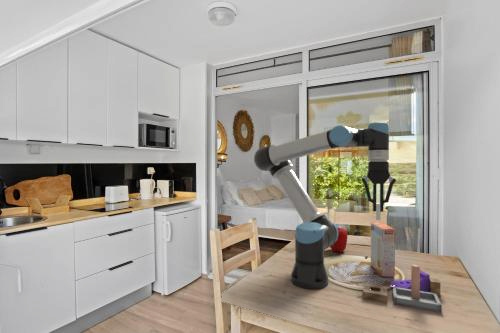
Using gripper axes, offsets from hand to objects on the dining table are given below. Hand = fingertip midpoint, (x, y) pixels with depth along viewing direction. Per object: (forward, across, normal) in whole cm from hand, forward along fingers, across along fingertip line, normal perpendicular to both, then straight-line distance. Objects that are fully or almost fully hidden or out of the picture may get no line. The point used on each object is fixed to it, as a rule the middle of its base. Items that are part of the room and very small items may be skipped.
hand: (378, 219), depth 114 cm
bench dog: (+26, +20, 0) cm, 33 cm away
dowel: (+26, +12, -11) cm, 30 cm away
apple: (+27, -20, +38) cm, 51 cm away
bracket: (+27, +11, 0) cm, 29 cm away
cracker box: (+27, +2, +16) cm, 31 cm away
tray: (+26, +12, -10) cm, 31 cm away
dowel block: (+26, -1, -11) cm, 29 cm away
